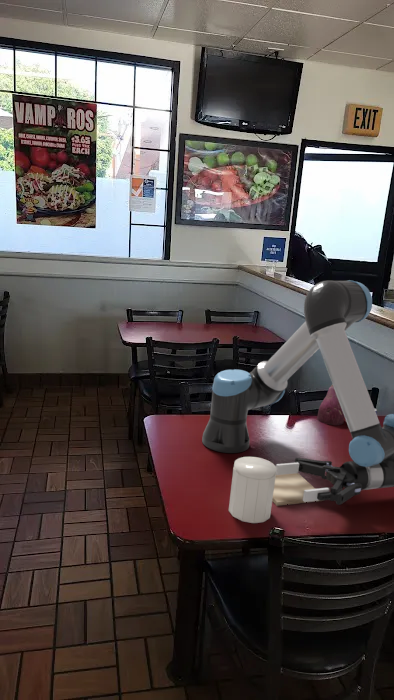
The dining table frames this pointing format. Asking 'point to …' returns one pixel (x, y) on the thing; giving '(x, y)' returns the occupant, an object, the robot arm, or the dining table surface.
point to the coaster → (290, 489)
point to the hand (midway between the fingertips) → (289, 482)
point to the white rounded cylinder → (252, 489)
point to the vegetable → (331, 409)
